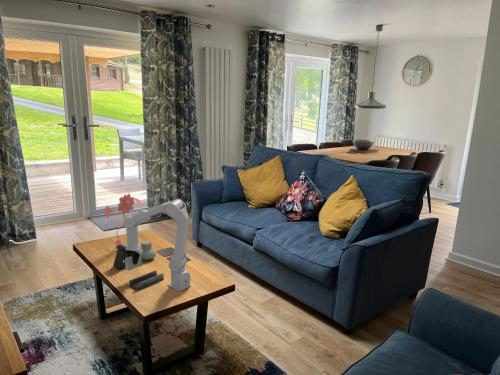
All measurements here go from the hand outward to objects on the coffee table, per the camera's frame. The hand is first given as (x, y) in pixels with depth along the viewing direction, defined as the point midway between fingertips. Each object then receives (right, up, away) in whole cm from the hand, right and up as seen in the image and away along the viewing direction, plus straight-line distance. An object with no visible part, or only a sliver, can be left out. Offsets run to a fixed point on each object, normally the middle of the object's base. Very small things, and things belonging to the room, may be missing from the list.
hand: (133, 263), depth 194 cm
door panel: (0, -2, 0) cm, 2 cm away
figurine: (-16, +1, +41) cm, 43 cm away
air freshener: (-1, -3, +28) cm, 28 cm away
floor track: (+7, -10, -1) cm, 12 cm away
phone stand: (-11, -5, +17) cm, 21 cm away
